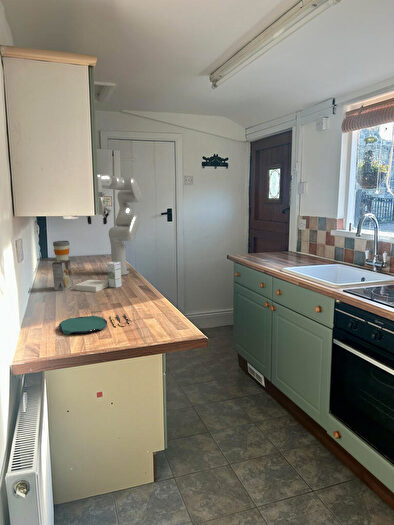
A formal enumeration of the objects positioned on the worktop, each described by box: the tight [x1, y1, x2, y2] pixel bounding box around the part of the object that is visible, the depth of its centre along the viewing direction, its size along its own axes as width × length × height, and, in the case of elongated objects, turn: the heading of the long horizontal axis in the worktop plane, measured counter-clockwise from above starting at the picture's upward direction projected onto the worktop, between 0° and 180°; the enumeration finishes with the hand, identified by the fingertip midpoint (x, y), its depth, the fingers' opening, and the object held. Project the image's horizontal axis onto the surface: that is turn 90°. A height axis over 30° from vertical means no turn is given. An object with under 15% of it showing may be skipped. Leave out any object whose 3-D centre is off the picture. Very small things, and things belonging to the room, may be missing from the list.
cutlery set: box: [57, 313, 132, 336], centre depth 176 cm, size 20×30×2 cm, turn 112°
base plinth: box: [74, 279, 109, 293], centre depth 240 cm, size 14×14×3 cm
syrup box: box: [106, 261, 122, 289], centre depth 242 cm, size 6×6×14 cm
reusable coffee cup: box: [52, 240, 70, 262], centre depth 330 cm, size 13×12×15 cm
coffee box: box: [51, 259, 73, 291], centre depth 239 cm, size 9×6×16 cm
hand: (97, 224), depth 248 cm, fingers open, 9 cm apart
